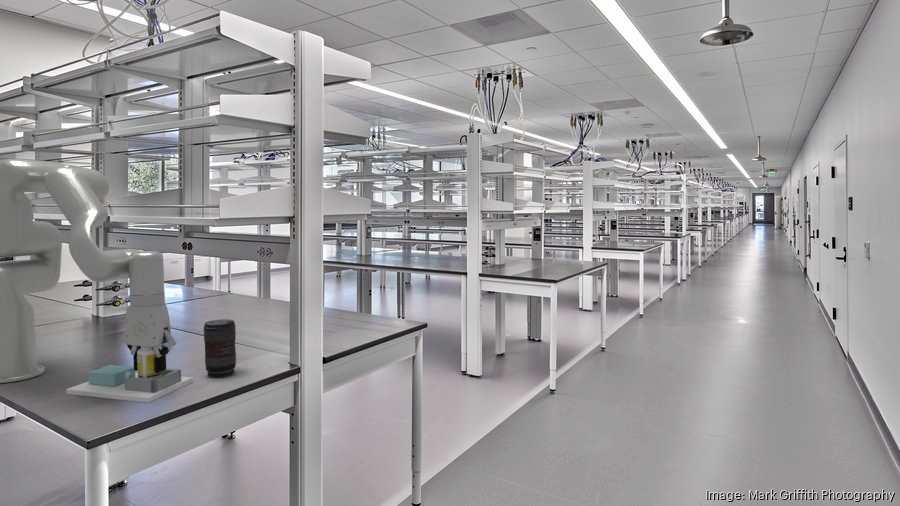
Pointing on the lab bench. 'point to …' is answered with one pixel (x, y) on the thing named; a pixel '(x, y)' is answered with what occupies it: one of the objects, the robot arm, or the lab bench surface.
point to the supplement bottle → (147, 363)
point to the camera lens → (220, 347)
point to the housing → (110, 375)
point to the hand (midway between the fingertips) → (150, 369)
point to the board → (135, 387)
